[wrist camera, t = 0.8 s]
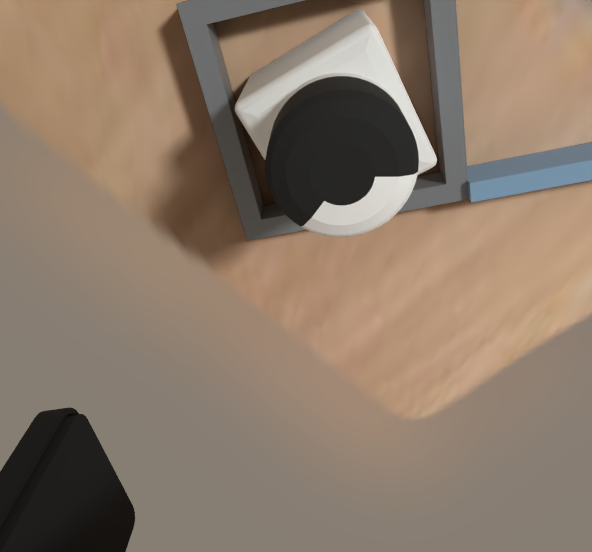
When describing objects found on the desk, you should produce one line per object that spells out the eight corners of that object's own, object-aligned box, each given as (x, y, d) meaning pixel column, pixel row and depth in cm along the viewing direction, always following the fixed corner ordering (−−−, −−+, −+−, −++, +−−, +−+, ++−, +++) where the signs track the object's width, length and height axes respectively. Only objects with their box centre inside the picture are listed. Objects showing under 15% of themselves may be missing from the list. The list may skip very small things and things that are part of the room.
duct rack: (184, 0, 29) (174, 5, 27) (709, -133, 25) (746, -140, 23) (250, 226, 35) (246, 244, 33) (673, 145, 32) (699, 160, 30)
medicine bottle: (247, 76, 31) (212, 140, 20) (361, 5, 29) (387, 37, 18) (309, 181, 34) (306, 283, 23) (416, 124, 32) (465, 208, 22)
